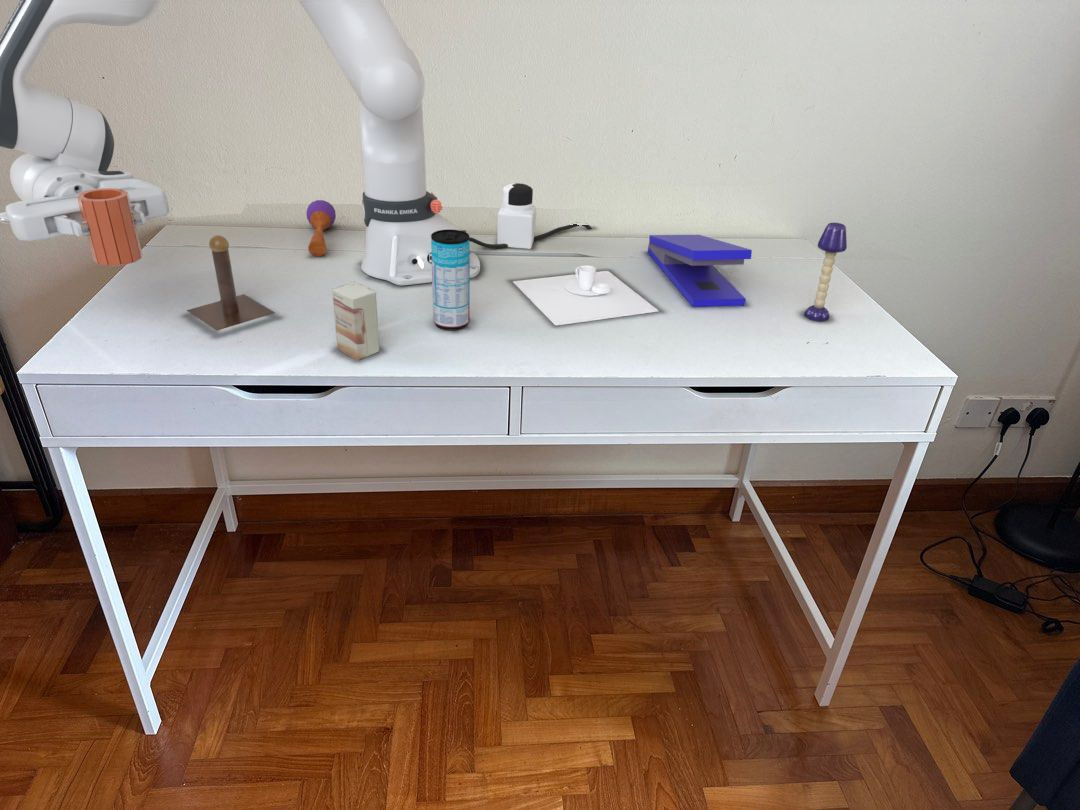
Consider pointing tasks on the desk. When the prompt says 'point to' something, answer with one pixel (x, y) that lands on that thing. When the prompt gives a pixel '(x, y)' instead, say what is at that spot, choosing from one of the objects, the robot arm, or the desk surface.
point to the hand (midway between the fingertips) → (112, 224)
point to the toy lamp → (827, 268)
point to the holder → (227, 294)
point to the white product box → (356, 320)
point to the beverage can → (450, 279)
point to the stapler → (699, 267)
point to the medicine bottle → (517, 217)
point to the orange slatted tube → (110, 226)
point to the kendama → (319, 224)
